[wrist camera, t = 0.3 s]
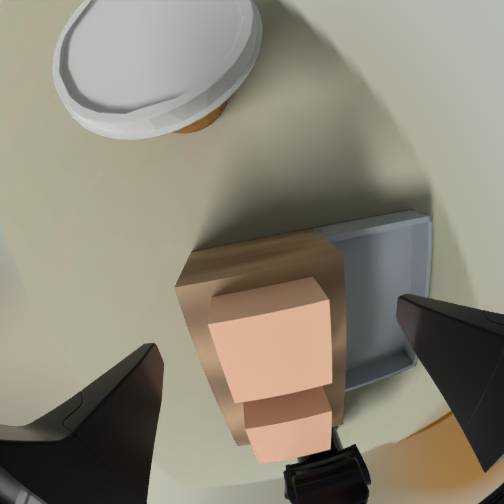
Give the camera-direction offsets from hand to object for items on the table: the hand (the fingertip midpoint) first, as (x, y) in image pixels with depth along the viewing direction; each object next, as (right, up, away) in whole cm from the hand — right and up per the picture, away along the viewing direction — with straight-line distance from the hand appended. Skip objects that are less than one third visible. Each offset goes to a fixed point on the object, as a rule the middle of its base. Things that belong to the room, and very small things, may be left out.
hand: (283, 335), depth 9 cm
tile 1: (+2, -10, +10) cm, 15 cm away
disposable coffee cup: (-6, +15, +9) cm, 19 cm away
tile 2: (0, -2, +8) cm, 8 cm away
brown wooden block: (0, -4, +16) cm, 16 cm away
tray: (+11, -2, +16) cm, 19 cm away
